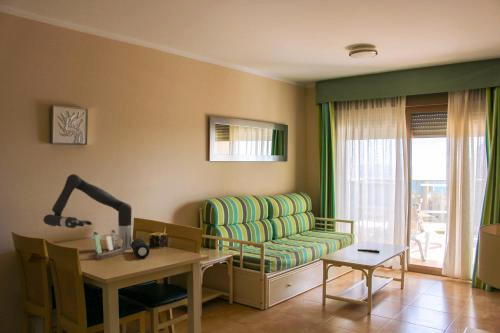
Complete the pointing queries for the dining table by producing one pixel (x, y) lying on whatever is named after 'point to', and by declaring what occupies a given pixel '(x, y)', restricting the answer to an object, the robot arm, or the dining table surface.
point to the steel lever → (114, 239)
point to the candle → (158, 239)
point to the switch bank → (107, 253)
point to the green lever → (97, 242)
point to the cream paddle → (109, 242)
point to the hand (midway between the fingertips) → (87, 224)
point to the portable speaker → (140, 248)
